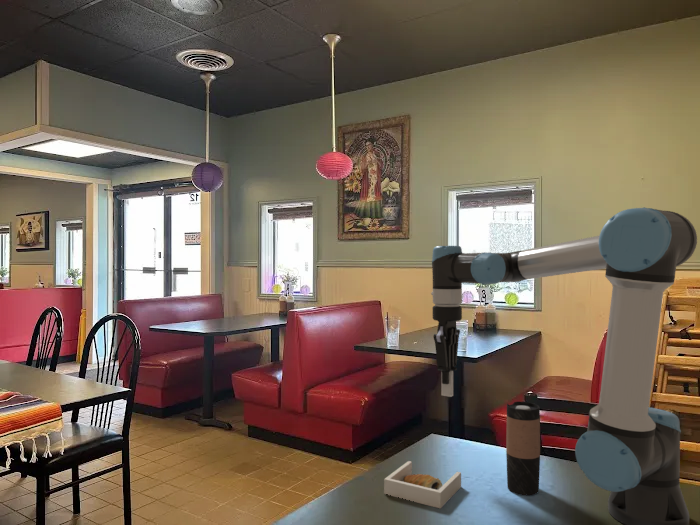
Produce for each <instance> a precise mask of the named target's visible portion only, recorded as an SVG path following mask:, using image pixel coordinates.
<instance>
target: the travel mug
mask: <svg viewBox="0 0 700 525" xmlns="http://www.w3.org/2000/svg"><path fill="white" fill-rule="evenodd" d="M540 418H541V409H540V405H538V404H536V403H533V402H529V401H528V402H527V401H514V402H513V403H511V404H509V403H507V404H506V436H505V437H506V438H505V440H506V445H505V446H506V448H505V449H506V450H505V451H506V452H505V453H506V454H505V455H506V483H507V489H508V490H509V492H511V493H513V494H516V495H520V496H526V497H527V496H535V495H537V494H538V493H539V490H540V468H541V465H540V464H541V426H540V425H541V424H540V423H541V422H540V421H541V420H540Z"/></svg>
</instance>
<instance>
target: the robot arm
mask: <svg viewBox="0 0 700 525" xmlns="http://www.w3.org/2000/svg"><path fill="white" fill-rule="evenodd" d="M696 231H697V230H696V229H695V226H694V225H693V223H692V222H691V221H690V220H689V219H688V218H687V217H685V216H684V215H682V214H680V213H679V212H675V211H670V210H663V209H662V210H661V209H657V208H649V207H634V208H627V209H624V210H621V211H619V212H617V213H616V214H613V215H612V216H611V218H609V219H608V220H607V221H606V223H605V224H604V225H603V226H602V228H601V230H600V233H599V235H596V236H591V237H589V236H588V237H584V238H581V239H574V240H569V241H564V242H559V243H554V244H549V245H548V244H547V245H544V246H539V247H533V248H527V249H524V250H517V251H511V252H502V253H501V252H500V253H499V252H469V253H464V252H463V250H462V249H463V248H462V246H459V245H437V246H434V247H433V249H432V257H431V259H432V260H431V266H432V269H431V270H432V271H431V272H432V291H431V292H430V294H431V296H432V303H433V304H434V305H433V306H432V319H433V321H435V322H436V321H437V322H438V323H437V333H434V334H433V340H434V345H435V347H434V348H435V356H436V357H435V358H436V366H437V367H436V368H437V371H441V375H440V378H441V380H440V381H441V386H440V387H441V390H440V391H441V394H440V395H441V397H443V396H444V397H448V398H452V397H454V371H457V370H458V367H457V365H458V364H457V362H458V351H459V341H460V340H459V338H460V334H461V330H460V329H458V328H457V322H460V321H461V320H462V319H463V309H462V308H463V307H462V304H463V284H464V283H465V284H481V285H496V284H499V283H519V282H523V281H526V280H531V279H538V278H540V279H541V278H545V277H553V276H560V275H562V276H563V275H568V274H569V275H570V274H574V273H582V272H588V271H596V270H603V269H605V275H604V276H605V278H606V279H607V281H609V283H610V284H611V286H612V290H611V297H610V298H611V299H610V306H609V307H610V309H609V314H608V316H609V317H608V325H607V334H606V340H605V341H606V342H605V350H604V358H603V360H604V361H603V368H602V376H601V382H600V392H599V393H600V394H599V401H598V402H599V403H598V404H597V405H595V406H593V407H592V408H590V410H589V413H588V415H589V416H588V424H587V431H586V432H584V433H583V434H581V435H580V436H579V438H578V439H577V442H576V444H575V447H574V448H575V450H574V454H575V459H576V463H577V464H578V467H579V469H580V470H581V471H582V472H583V474H584V476H585V477H586V478H587V479H588V480H589V481H590V482H591V483H592V484H593V485H595V486H597V487H598V488H601V489H602V490H605V491H608V492H610V493H609V496H608V500H607V509H608V510H607V511H608V513H609V514H610V515H611V517H613V518H614V519H615V520H616V521H618V522H620V523H622V524H623V525H690V513H689V510H688V506H687V503H686V502H685V498H684V495H683V492H682V488H681V486H680V474H681V473H680V472H681V471H680V470H681V469H680V466H681V465H680V464H681V463H680V462H681V461H680V460H681V457H680V456H681V432H682V430H681V427H680V419H679V417H678V416H677V415H676V414H675V413H673V412H671V411H668V410H664V409H660V408H655V407H651V406H650V400H651V393H652V386H653V385H652V384H653V377H654V369H655V359H656V353H657V345H658V336H659V328H660V321H661V313H662V306H663V297H664V296H663V295H664V292H665V291H666V290H667V289H668V288H670V287H671V286H673V285H674V284H675V280H676V279H675V278H676V272H677V271H676V269H677V267H679V266H681V265H683V264H684V263H686V262H687V261H688V260H689V259H690V258H691V257H692V256H693V255H694V252H695V250H696V249H697V245H698V244H697V243H698V236H697V232H696Z"/></svg>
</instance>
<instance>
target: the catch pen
mask: <svg viewBox="0 0 700 525" xmlns="http://www.w3.org/2000/svg"><path fill="white" fill-rule="evenodd" d="M408 475H413V462H412V461H410V460H408V461H406V462H405V463H404V464H402V465H401V466H400V467H398V468H397V469H395V470H394V471H393V472H392V473H390V474H389V475H388V476H386V477H385V478H384V479H383V483H384V484H383V488H384V489H383V494H384V495H386V494H388V495H387V496H390V495H391V497H394V498H398V497H399V499H402V498H403V500H405V499H406V501H409V500H410V502H413V501H414V503H418V504H422V505H425V506H429V507H432V508H433V507H434V508H436V509H442V508H443V507H444V506H445V505H446V503H447V502H449V500H450V499H451V498H452V497H453V496H455V494H456V493H457V492H458V490H460V489H461V488H462V472H461V471H456V472H455V473H454V474H453V475H452V476H451V477H450V478H449V479H448V480H447V481H446V482H444V484H442V487H441V488H440V489H439V490H436V489H431V488H427V487H423V486H419V485H415V484H411V483H407V482H404V477H405V476H408Z"/></svg>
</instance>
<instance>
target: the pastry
mask: <svg viewBox="0 0 700 525" xmlns="http://www.w3.org/2000/svg"><path fill="white" fill-rule="evenodd" d="M404 482H407V483H411V484H415V485H419V486H423V487H427V488H431V489H436V490H439V489H440V488H441V487H442V486H443V483H442V481H441V480H440V479H439V478H438V477H437V478H436V477H434V476H431V475H430V474H422V473H417V474H414V473H412V475H408V476H405V477H404Z"/></svg>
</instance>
